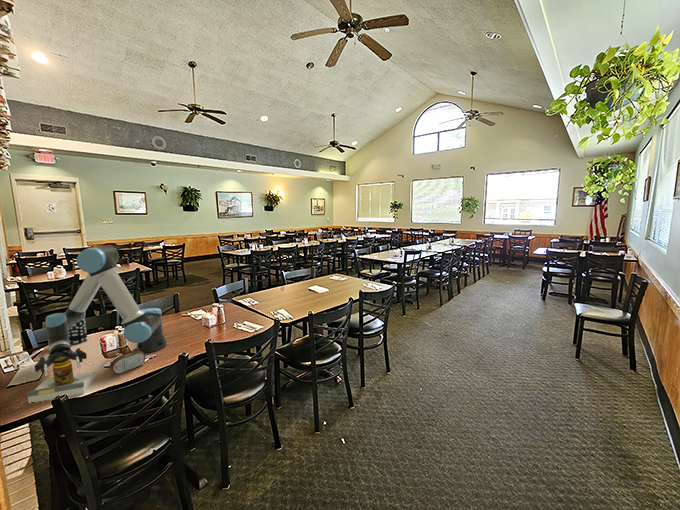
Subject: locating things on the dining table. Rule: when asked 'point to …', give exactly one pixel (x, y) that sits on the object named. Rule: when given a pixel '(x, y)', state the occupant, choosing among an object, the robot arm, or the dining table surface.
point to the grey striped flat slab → (61, 388)
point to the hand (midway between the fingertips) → (62, 368)
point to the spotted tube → (77, 333)
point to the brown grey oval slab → (127, 362)
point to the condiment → (62, 371)
